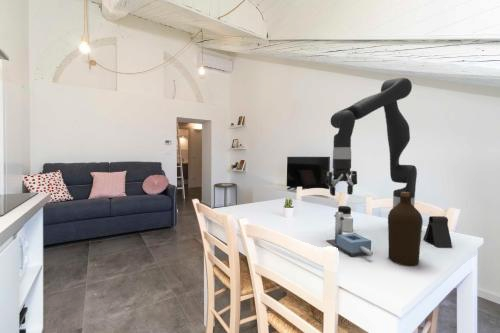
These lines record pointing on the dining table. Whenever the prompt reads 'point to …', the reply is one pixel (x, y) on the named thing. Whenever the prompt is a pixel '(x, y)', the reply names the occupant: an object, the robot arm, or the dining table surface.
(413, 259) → the olive oil
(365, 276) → the dining table surface
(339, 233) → the chuck key
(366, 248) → the block
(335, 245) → the rubber pad
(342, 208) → the medicine bottle
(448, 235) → the black folding stand
